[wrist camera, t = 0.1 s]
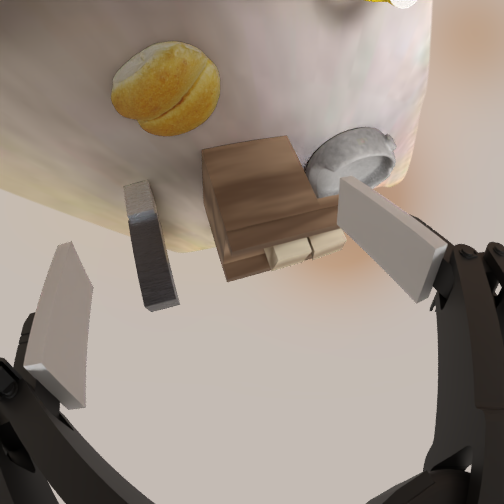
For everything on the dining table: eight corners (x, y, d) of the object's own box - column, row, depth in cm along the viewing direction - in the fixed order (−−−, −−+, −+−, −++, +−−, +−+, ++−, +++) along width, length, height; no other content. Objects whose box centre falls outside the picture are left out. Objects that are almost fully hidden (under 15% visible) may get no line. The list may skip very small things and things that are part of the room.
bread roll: (161, 131, 26) (167, 162, 25) (95, 85, 18) (93, 116, 17) (234, 86, 24) (247, 115, 23) (180, 20, 16) (189, 44, 15)
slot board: (201, 149, 31) (232, 250, 27) (330, 130, 34) (374, 214, 31) (203, 203, 42) (227, 282, 38) (305, 181, 45) (335, 251, 42)
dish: (301, 189, 48) (312, 215, 47) (298, 140, 35) (314, 172, 33) (377, 163, 47) (390, 188, 45) (395, 113, 34) (414, 141, 32)
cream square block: (269, 235, 33) (278, 260, 32) (302, 226, 33) (312, 251, 33) (263, 248, 36) (271, 271, 36) (293, 240, 37) (302, 262, 36)
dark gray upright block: (122, 186, 32) (142, 305, 28) (149, 179, 32) (174, 296, 28) (132, 208, 37) (153, 313, 33) (156, 202, 38) (180, 306, 34)
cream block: (305, 228, 34) (314, 251, 33) (336, 217, 34) (346, 240, 33) (304, 238, 38) (312, 260, 37) (332, 228, 38) (341, 249, 37)
